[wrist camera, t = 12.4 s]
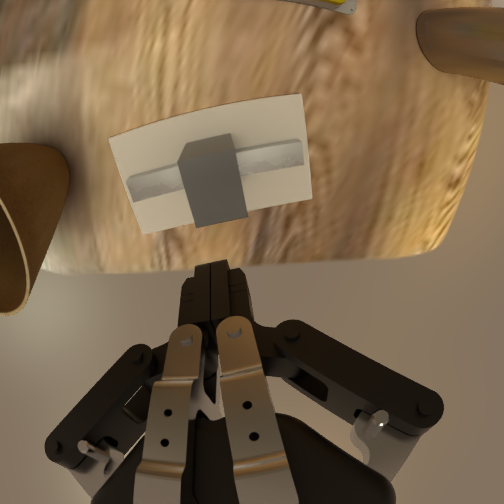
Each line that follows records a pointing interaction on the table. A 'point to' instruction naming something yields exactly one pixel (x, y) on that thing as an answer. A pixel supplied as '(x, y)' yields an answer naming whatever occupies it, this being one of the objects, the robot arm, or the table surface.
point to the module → (212, 180)
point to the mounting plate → (209, 125)
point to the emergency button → (330, 4)
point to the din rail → (248, 163)
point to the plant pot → (27, 216)
